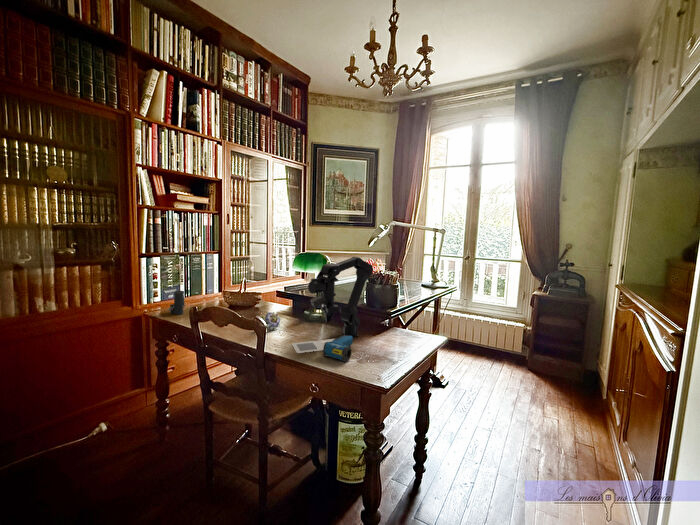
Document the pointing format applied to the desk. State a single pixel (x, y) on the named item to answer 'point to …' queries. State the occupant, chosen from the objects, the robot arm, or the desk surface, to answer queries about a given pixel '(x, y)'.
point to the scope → (177, 303)
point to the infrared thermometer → (339, 348)
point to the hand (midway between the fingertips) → (327, 322)
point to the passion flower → (272, 320)
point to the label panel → (310, 346)
